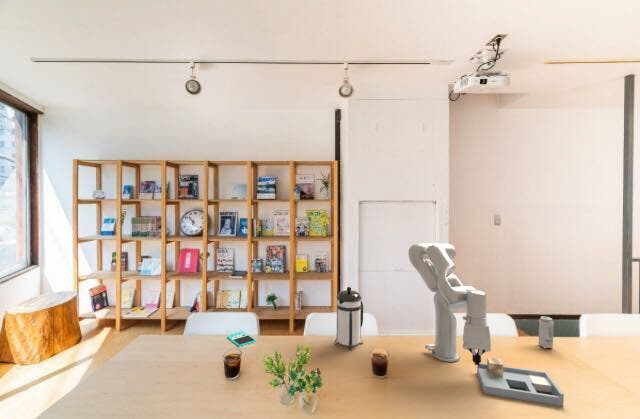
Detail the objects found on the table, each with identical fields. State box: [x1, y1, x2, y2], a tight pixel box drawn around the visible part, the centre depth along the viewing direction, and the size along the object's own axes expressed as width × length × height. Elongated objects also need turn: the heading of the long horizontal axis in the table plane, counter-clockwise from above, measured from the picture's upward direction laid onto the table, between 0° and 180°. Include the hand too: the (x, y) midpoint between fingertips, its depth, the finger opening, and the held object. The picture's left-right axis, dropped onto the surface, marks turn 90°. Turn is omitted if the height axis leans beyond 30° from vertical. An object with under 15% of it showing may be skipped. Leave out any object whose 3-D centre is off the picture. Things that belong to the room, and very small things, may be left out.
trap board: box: [476, 362, 565, 407], centre depth 128 cm, size 26×16×4 cm, turn 73°
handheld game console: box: [227, 330, 257, 348], centre depth 172 cm, size 10×16×1 cm, turn 39°
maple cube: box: [486, 357, 504, 377], centre depth 133 cm, size 5×5×5 cm
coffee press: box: [333, 286, 364, 351], centre depth 167 cm, size 17×16×30 cm
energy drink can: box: [538, 315, 554, 349], centre depth 164 cm, size 6×6×15 cm
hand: (476, 363), depth 135 cm, fingers closed
